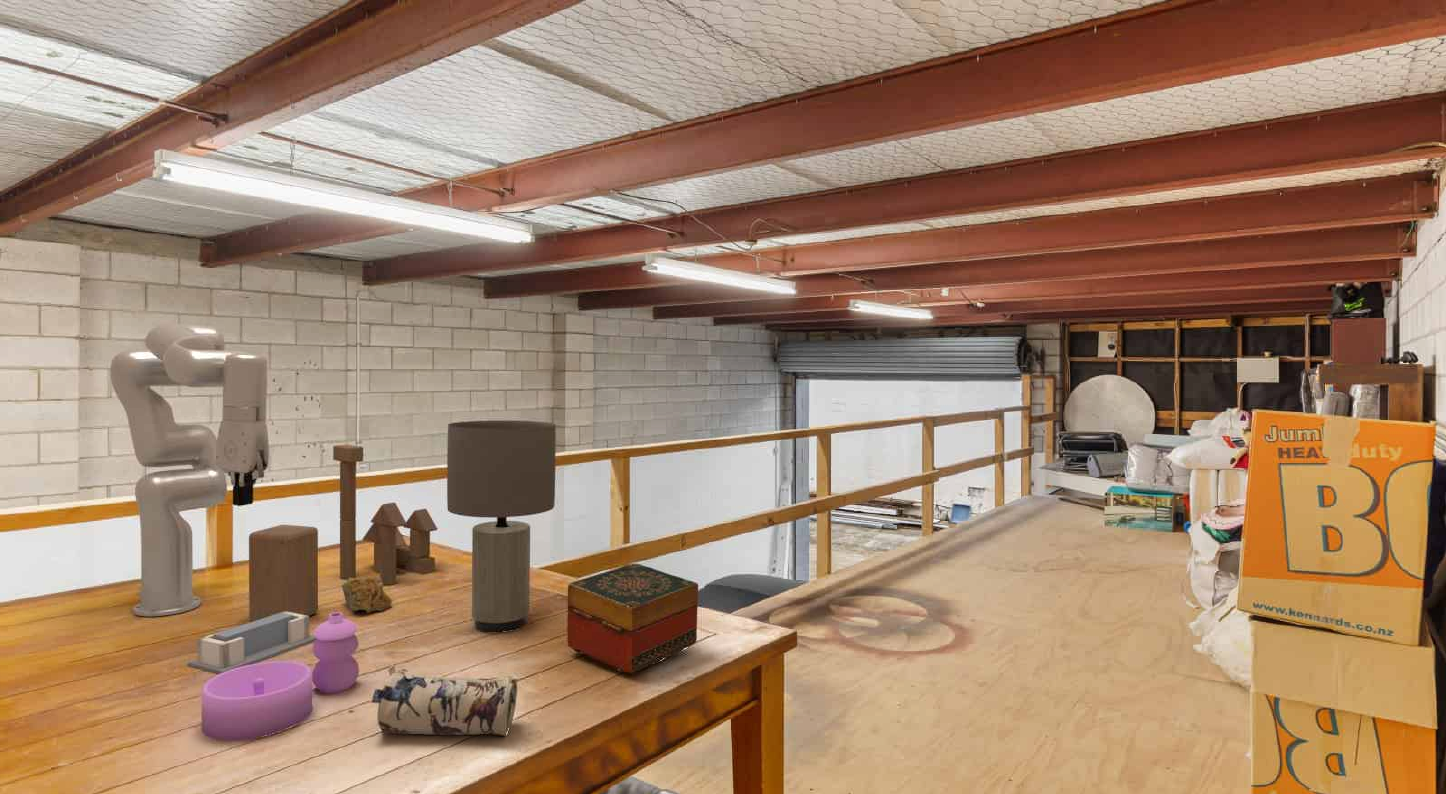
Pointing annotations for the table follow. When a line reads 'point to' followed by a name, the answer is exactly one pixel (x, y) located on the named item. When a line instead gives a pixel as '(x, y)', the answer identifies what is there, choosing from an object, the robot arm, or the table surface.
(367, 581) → the rock
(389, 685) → the pencil case
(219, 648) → the endcap board
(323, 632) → the container set
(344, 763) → the table surface
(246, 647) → the blue-grey rectangular bar
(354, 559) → the building blocks
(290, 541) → the wooden block
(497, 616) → the lamp
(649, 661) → the decorative box
